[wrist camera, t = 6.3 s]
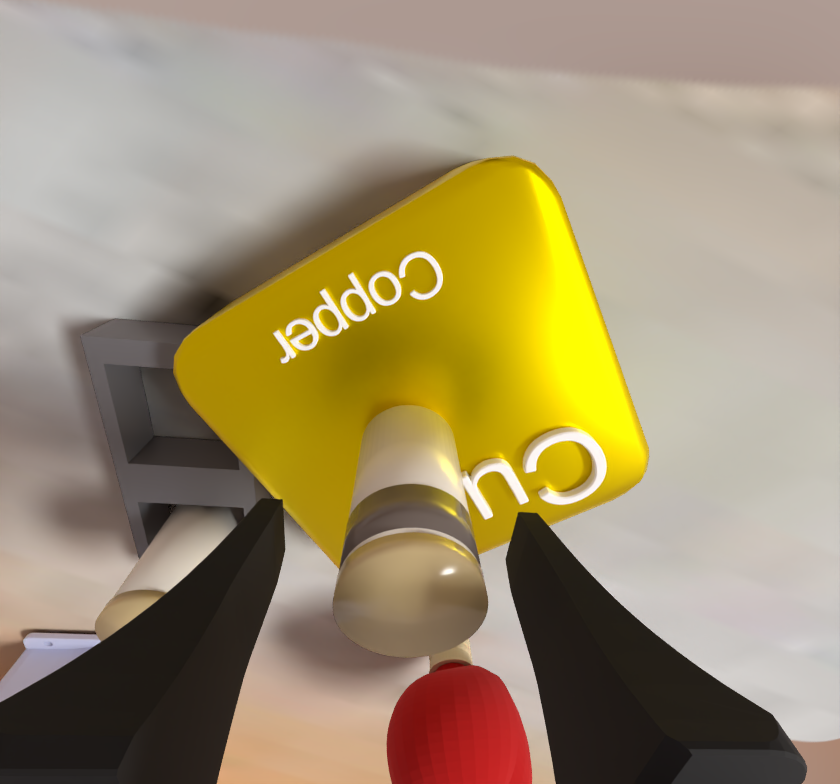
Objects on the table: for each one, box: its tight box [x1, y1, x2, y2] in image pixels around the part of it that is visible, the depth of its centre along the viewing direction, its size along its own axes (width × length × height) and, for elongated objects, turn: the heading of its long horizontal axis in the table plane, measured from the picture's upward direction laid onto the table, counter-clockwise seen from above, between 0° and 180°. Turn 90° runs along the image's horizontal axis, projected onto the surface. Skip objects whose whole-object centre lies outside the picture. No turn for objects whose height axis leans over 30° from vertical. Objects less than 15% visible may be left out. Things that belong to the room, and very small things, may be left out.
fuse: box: [95, 504, 244, 641], centre depth 20 cm, size 4×4×7 cm
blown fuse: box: [333, 405, 488, 658], centre depth 13 cm, size 4×4×7 cm
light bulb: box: [387, 639, 532, 784], centre depth 24 cm, size 9×7×10 cm
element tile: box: [173, 156, 649, 568], centre depth 18 cm, size 15×15×5 cm
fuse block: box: [80, 319, 271, 559], centre depth 21 cm, size 6×14×2 cm, turn 174°
